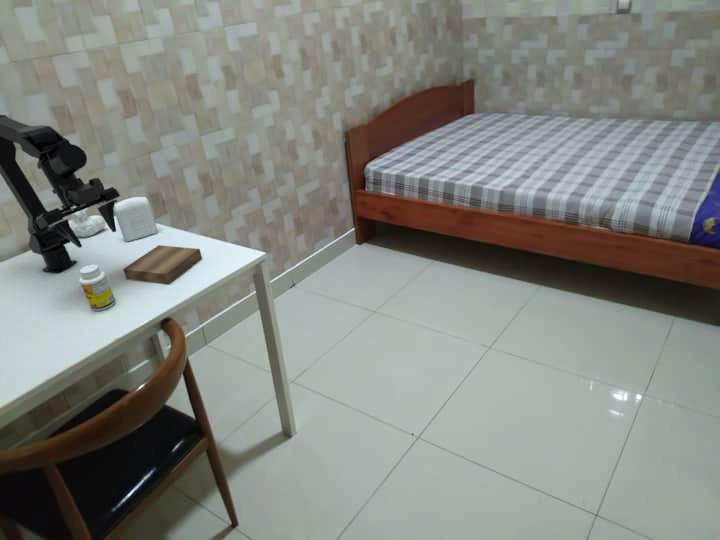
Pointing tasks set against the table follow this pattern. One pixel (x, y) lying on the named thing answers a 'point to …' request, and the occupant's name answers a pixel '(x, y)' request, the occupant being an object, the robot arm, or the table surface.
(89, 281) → the supplement bottle
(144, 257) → the walnut stand
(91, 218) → the bust
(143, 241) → the table surface
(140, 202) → the photo printer
